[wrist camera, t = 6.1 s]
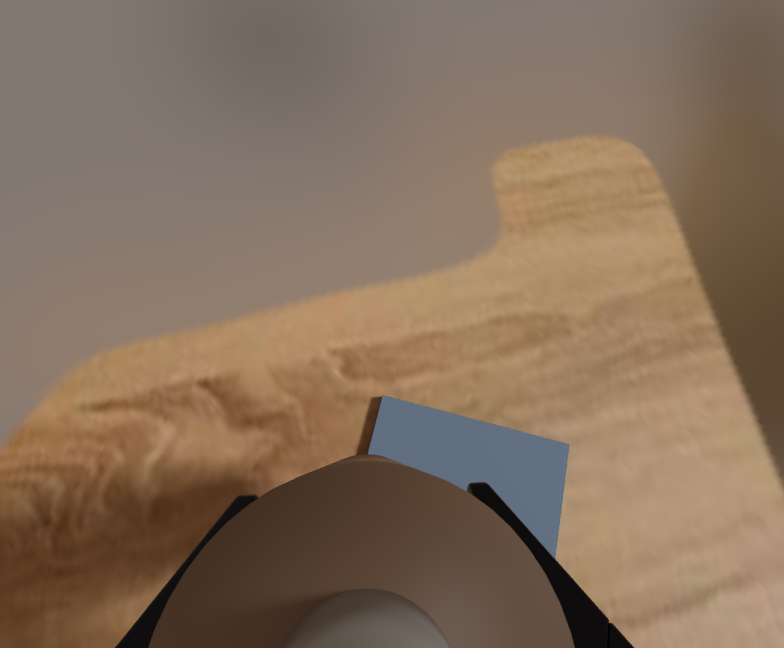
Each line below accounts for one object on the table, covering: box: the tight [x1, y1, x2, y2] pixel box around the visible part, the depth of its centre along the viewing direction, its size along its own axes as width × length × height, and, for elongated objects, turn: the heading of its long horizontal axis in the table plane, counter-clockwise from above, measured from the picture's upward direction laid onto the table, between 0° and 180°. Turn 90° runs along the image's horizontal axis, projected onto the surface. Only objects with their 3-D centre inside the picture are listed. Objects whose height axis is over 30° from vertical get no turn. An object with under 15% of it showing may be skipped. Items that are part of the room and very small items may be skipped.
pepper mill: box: [148, 454, 575, 648], centre depth 9 cm, size 5×5×13 cm
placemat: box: [368, 395, 569, 558], centre depth 20 cm, size 12×10×1 cm
